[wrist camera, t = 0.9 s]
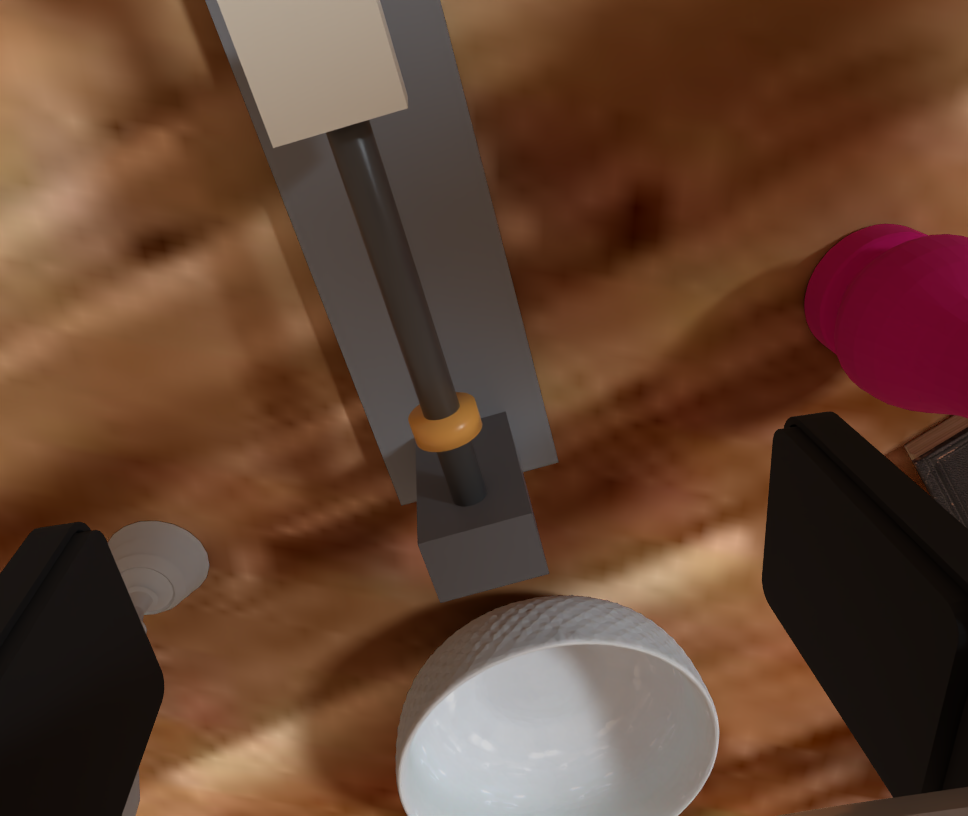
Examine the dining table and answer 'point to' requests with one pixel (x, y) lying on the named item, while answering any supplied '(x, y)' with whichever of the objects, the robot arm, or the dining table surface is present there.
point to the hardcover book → (944, 464)
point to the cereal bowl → (556, 717)
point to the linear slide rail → (424, 307)
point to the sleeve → (315, 63)
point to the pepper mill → (897, 315)
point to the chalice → (157, 578)
